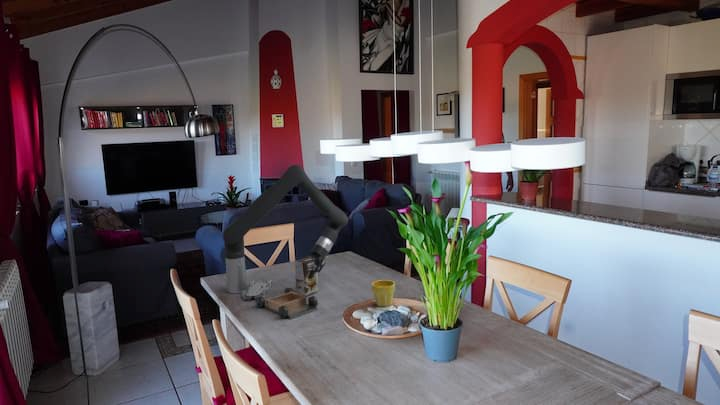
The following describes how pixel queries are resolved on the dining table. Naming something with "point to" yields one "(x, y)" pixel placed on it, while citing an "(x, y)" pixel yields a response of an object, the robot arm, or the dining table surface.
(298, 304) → the chassis
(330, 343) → the dining table surface
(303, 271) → the coffee box
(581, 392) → the dining table surface
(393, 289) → the plant pot
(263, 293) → the car model
